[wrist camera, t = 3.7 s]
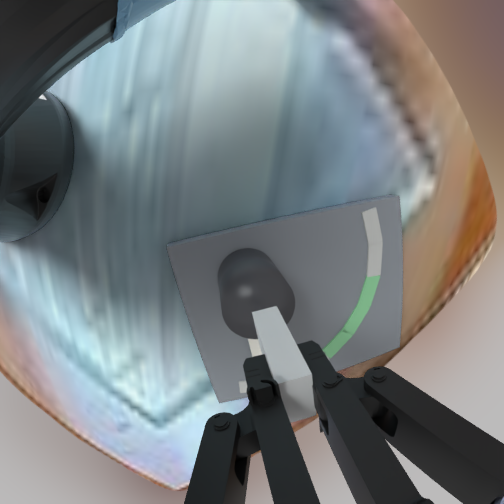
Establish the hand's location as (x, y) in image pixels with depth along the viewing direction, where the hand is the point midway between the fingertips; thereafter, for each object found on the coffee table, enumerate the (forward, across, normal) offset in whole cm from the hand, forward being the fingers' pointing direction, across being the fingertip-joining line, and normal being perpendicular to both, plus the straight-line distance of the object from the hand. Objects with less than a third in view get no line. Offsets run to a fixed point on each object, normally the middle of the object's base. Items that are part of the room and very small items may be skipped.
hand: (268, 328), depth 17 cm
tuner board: (+10, +5, -5) cm, 12 cm away
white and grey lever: (+8, 0, -4) cm, 9 cm away
